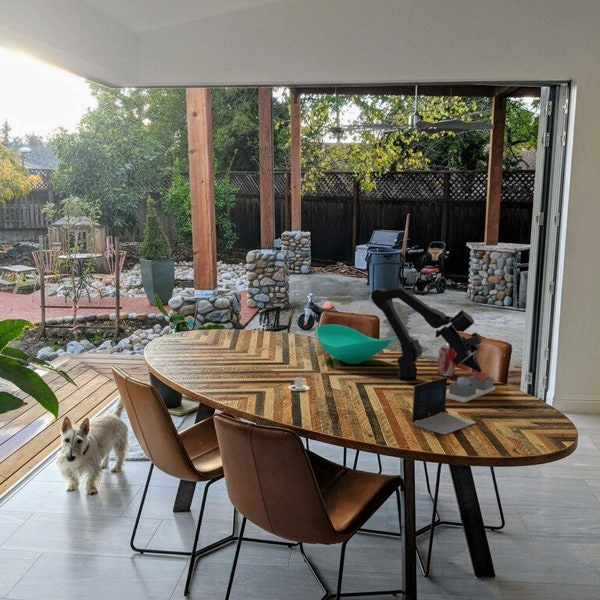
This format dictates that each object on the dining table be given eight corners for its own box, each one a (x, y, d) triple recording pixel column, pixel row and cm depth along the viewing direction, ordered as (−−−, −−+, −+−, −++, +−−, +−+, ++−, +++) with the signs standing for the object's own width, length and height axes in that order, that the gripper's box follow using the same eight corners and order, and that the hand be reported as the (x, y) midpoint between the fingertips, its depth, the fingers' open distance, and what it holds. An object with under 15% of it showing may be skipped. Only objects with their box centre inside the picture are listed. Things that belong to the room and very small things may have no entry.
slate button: (454, 392, 236) (455, 378, 235) (460, 390, 239) (461, 376, 238) (465, 395, 233) (466, 381, 232) (470, 392, 236) (471, 379, 236)
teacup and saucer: (304, 393, 235) (304, 382, 235) (284, 390, 238) (284, 380, 237) (312, 387, 243) (312, 377, 243) (292, 385, 246) (292, 374, 245)
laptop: (444, 436, 196) (447, 394, 194) (411, 425, 205) (413, 385, 203) (476, 424, 208) (479, 385, 206) (443, 414, 217) (446, 376, 215)
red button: (472, 385, 246) (473, 372, 246) (477, 383, 249) (478, 370, 249) (483, 388, 243) (484, 374, 243) (488, 385, 247) (489, 372, 246)
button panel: (439, 396, 237) (440, 383, 236) (470, 384, 255) (471, 372, 254) (464, 402, 230) (465, 388, 230) (494, 390, 248) (495, 377, 247)
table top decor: (406, 367, 278) (408, 337, 276) (358, 375, 261) (360, 343, 260) (346, 349, 309) (347, 322, 307) (299, 355, 293) (300, 327, 291)
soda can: (454, 377, 264) (457, 349, 262) (437, 376, 266) (439, 347, 264) (454, 373, 271) (456, 345, 269) (437, 372, 272) (439, 344, 271)
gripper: (463, 330, 238) (491, 363, 234) (475, 323, 254) (502, 354, 250) (441, 348, 242) (468, 381, 239) (454, 340, 259) (480, 371, 255)
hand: (480, 371), depth 246 cm, fingers closed
